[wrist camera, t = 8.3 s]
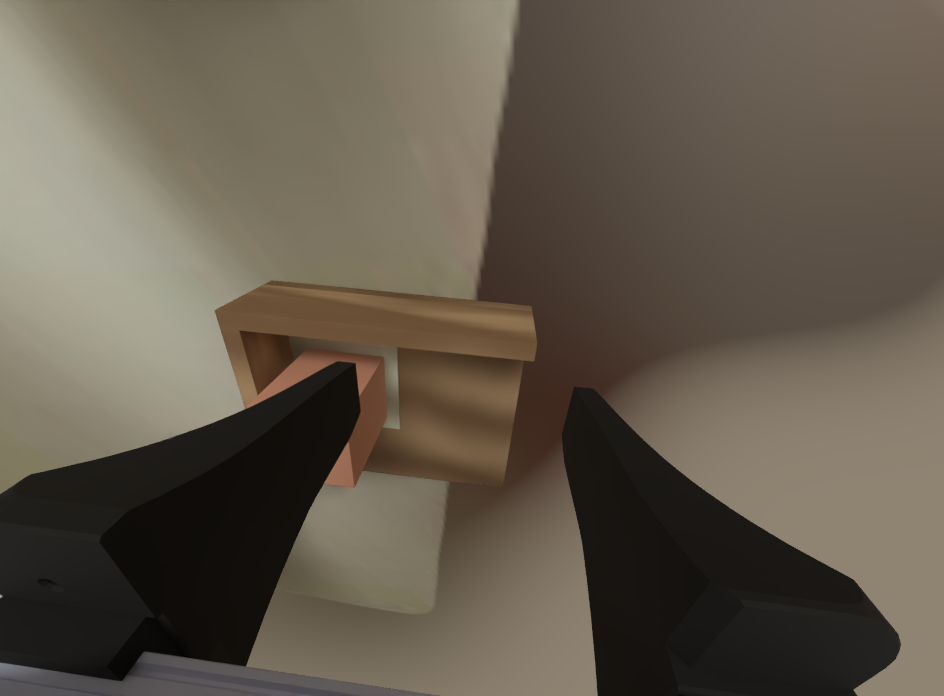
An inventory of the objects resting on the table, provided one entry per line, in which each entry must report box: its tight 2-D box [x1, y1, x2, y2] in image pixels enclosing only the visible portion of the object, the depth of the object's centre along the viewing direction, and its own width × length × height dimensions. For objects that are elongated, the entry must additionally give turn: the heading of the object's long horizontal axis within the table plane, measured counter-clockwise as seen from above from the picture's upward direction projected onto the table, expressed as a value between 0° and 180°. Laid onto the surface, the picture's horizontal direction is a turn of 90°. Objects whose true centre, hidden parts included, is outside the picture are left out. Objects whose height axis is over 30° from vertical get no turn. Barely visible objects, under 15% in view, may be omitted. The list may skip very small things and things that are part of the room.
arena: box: [215, 281, 537, 488], centre depth 23 cm, size 15×16×5 cm
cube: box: [247, 348, 387, 488], centre depth 21 cm, size 5×5×6 cm
